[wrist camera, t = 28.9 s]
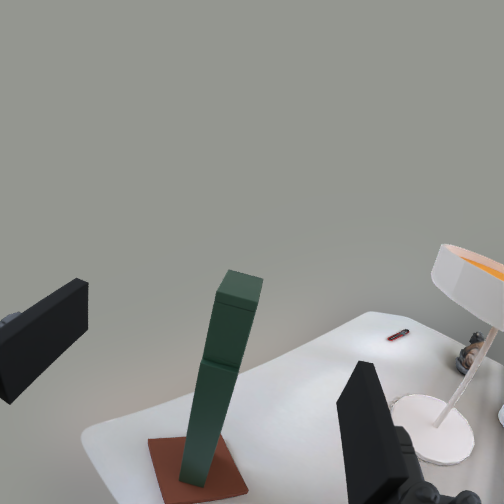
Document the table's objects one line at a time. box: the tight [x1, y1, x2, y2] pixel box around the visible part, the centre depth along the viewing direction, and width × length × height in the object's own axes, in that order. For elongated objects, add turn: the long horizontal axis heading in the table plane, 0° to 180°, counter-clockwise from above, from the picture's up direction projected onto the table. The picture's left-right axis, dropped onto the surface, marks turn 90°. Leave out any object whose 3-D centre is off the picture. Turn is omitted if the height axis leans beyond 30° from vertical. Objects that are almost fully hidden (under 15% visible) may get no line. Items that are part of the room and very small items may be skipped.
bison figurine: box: [456, 332, 484, 375], centre depth 67 cm, size 12×7×10 cm, turn 135°
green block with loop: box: [179, 270, 263, 488], centre depth 28 cm, size 3×6×25 cm, turn 174°
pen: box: [388, 329, 409, 341], centre depth 81 cm, size 2×14×1 cm, turn 127°
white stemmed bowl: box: [391, 244, 504, 466], centre depth 40 cm, size 30×30×31 cm
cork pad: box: [148, 433, 249, 504], centre depth 31 cm, size 10×10×1 cm
